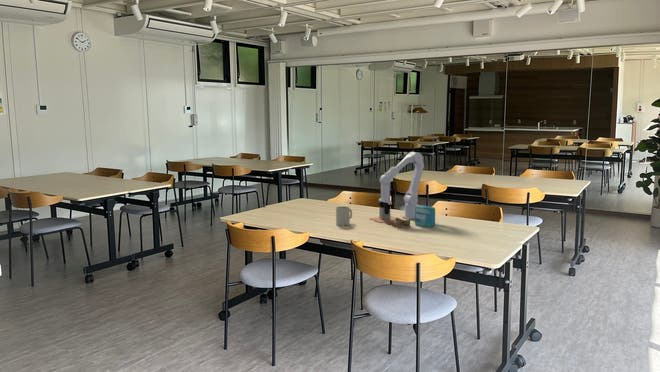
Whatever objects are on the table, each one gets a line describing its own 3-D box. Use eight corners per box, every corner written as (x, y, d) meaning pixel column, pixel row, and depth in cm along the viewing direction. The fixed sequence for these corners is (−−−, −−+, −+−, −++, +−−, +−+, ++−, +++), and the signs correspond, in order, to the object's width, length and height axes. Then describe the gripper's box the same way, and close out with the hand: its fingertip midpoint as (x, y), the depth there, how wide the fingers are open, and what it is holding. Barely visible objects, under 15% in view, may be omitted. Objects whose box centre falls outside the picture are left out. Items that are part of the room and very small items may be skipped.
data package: (414, 225, 326) (414, 206, 325) (418, 223, 330) (418, 205, 328) (431, 227, 319) (431, 208, 317) (435, 226, 322) (435, 207, 320)
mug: (342, 226, 325) (342, 209, 323) (333, 224, 331) (333, 207, 330) (356, 223, 333) (356, 206, 331) (347, 221, 339) (347, 205, 338)
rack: (397, 221, 338) (397, 215, 337) (410, 226, 323) (410, 220, 322) (384, 222, 334) (384, 216, 334) (396, 227, 319) (396, 221, 319)
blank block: (387, 217, 346) (387, 206, 345) (390, 218, 342) (390, 207, 341) (379, 218, 343) (379, 207, 342) (382, 219, 340) (382, 208, 339)
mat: (391, 216, 352) (391, 216, 352) (400, 220, 340) (400, 219, 340) (369, 219, 346) (369, 218, 346) (378, 222, 334) (378, 222, 334)
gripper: (374, 192, 345) (374, 212, 347) (385, 195, 332) (385, 216, 334) (384, 191, 348) (384, 211, 350) (394, 194, 335) (394, 215, 337)
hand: (385, 213), depth 342 cm, fingers closed on blank block, 4 cm apart
